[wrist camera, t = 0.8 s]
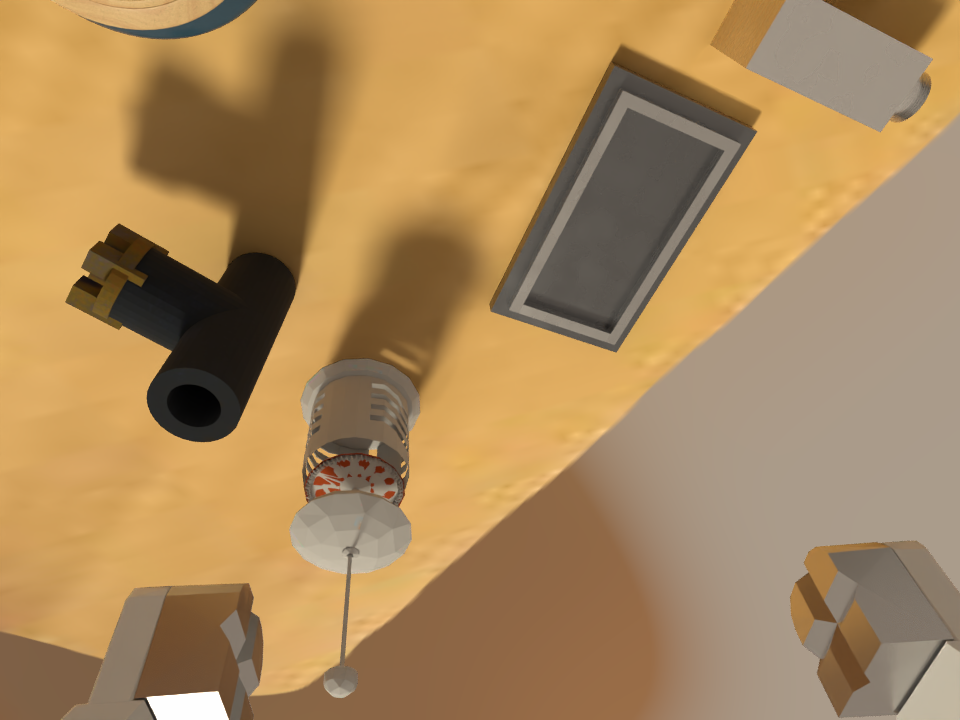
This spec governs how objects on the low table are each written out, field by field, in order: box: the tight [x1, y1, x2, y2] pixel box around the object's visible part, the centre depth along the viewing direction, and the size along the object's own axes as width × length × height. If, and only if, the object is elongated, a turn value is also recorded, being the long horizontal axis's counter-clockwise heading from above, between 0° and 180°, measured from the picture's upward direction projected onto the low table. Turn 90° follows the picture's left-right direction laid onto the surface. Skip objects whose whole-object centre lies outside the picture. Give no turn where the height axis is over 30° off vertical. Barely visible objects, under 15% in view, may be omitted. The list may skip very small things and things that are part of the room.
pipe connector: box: [66, 224, 295, 442], centre depth 45 cm, size 12×5×15 cm, turn 54°
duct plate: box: [489, 62, 757, 352], centre depth 51 cm, size 19×11×2 cm, turn 157°
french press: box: [289, 359, 420, 698], centre depth 50 cm, size 10×12×25 cm
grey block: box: [710, 0, 933, 132], centre depth 44 cm, size 4×12×6 cm, turn 67°
